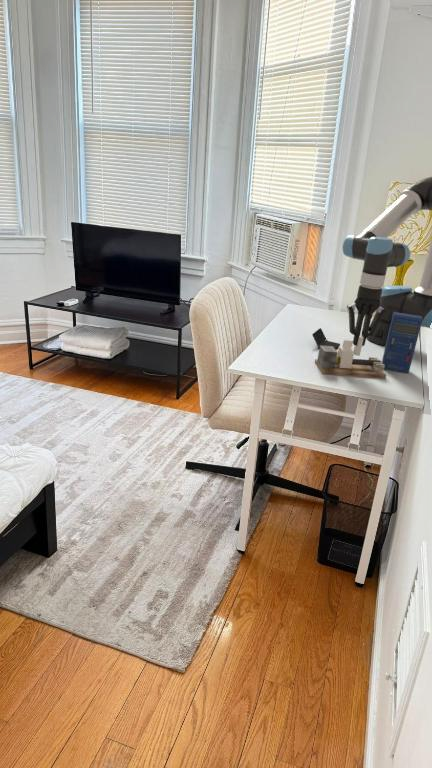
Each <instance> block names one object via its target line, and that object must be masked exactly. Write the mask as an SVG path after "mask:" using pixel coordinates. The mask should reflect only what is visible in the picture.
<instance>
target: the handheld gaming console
mask: <svg viewBox="0 0 432 768" xmlns="http://www.w3.org/2000/svg"><path fill="white" fill-rule="evenodd" d="M311 335H312V337H313V339H314V341H315V343H316V346H317V347H318V348H317V350H319V348H320V346H333V347H334V349H335V350H336V351H337V350H338V348H339V346H341V343H339V342H334V341H330V340H328V339H327V337H326V335H325V333H324V331H323V329H322V327H320V328H318V329H317V330H316V331H314V332H313V333H312V334H311Z"/></svg>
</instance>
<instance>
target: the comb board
mask: <svg viewBox="0 0 432 768" xmlns="http://www.w3.org/2000/svg"><path fill="white" fill-rule="evenodd" d="M337 353H338V350H337V349H336V350H335V349H334V347H333V346H320V348H319V349H318V355H317V358H316V359H314V364H315V365H316V366H317V368H318V370H319V371H320V373H322V375H331V376H332V375H333V376H348V377H362V378H375V379H376V378H377V379H386V378H387V374H386V373H385V369H384V366H385V365H384V364H383V363H382V360H380V359H379V358H378V357H374V356H373V357H372V356H368V359H362V358H360V359H359V358H353V361H352V366H351V369H350V368H339V363H340V358H339V357H338V356H337Z"/></svg>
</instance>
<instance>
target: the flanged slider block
mask: <svg viewBox="0 0 432 768" xmlns="http://www.w3.org/2000/svg"><path fill="white" fill-rule="evenodd" d="M342 341H343V342H342V345H340V346H339V347H338V348H337V356H338V357H339V358H340V363H339V368H350V369H351V366H352V361H353V359H354V356H355V354H354V348H352V347H353V340H352V339H343V340H342Z"/></svg>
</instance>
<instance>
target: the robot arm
mask: <svg viewBox="0 0 432 768" xmlns="http://www.w3.org/2000/svg"><path fill="white" fill-rule="evenodd" d="M425 210H427V211H432V176H429V177H425V178H423V179H419V180H418V181H416V182H414V183H412V184H410V185H409V186H407V187H406V188H405V189H403V191H402V192H400V193H399V195H398V197H397V200H396V201H395V202H393V203H392V204H391V205H390V206H389V207H388V208H387V209H385V211H384V212H382V213H381V214H380V215H379V216H378V217H377V218H376V219H375V220H373V221H372V223H370V225H369V226H367V227H366V228H365V229H364V230H362V232H361V233H360V234H358V235H357V234H354V235H353V234H350V235H347V236H346V238H345V239H344V240H343V243H342V253H343V254H344V256H346V257H347V258H348V257H349V258H350V259H354V260H360V261H363V266H362V271H361V276H360V280H359V284H360V285H359V286H358V291H357V294H356V299H355V300H354V302H353V303H352V304H347V305H346V309H347V311H348V324H349V325H348V328H349V333H350V334H352V335H353V340H352V341H353V343H352V345H354V346H353V350H354V356H358V357H359V356H360V355H361V352H362V348H363V347H364V346H365V345H366V340H367V341H369V342H372V343H373V344H378V345H381V346H384V347H385V346H386V342H387V338H388V334H389V329H390V325H391V321H392V317H393V313H394V312H397V313H403V314H410V315H416V316H422V319H423V320H422V324H421V327H422V328H428V329H431V328H430V325H431V323H432V237H431V239H430V243H429V247H428V251H427V254H426V258H425V259H426V260H425V263H424V267H423V271H422V273H421V274H422V275H421V278H420V283H419V285H418V286H417V287H415V288H414V290H413V288H412V287H410V286H406V285H385V280H386V276H387V272H388V268H393V267H395V268H397V267H400V266H404V265H406V264H407V262H409V260H410V257H411V251H410V247H408V245H407V244H405V243H401V242H396V243H395V242H394V241H393V239H392V238H389V237H390V236H391V235H392V234H393V233H394V232H395V231H396V230H397V229H399V227H400V226H401V225H402V224H403V223H405V222H406V221H407V220H408V219H409V218H410V217H411V216H413V215H416V214H418V213H419V212H420V211H425ZM384 285H385V286H384ZM355 311H357V318H356V315H355ZM374 313H375V314H374ZM373 316H374V317H373ZM372 318H373V319H372Z"/></svg>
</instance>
